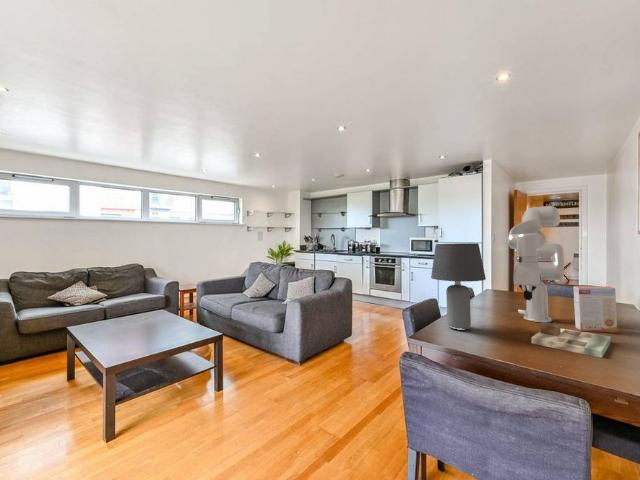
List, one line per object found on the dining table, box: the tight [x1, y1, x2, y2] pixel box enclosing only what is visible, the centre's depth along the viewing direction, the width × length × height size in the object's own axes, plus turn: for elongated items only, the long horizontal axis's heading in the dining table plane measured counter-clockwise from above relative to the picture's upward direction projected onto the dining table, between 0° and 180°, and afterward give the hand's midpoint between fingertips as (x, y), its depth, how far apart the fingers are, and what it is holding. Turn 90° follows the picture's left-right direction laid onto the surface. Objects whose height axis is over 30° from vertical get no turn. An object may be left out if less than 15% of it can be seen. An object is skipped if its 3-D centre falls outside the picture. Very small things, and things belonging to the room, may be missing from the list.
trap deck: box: [530, 327, 612, 359], centre depth 127 cm, size 22×24×2 cm
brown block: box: [539, 322, 561, 336], centre depth 132 cm, size 6×6×4 cm
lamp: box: [430, 242, 487, 330], centre depth 151 cm, size 25×25×43 cm
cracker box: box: [573, 285, 618, 334], centre depth 142 cm, size 14×6×21 cm, turn 71°
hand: (528, 299), depth 138 cm, fingers closed
